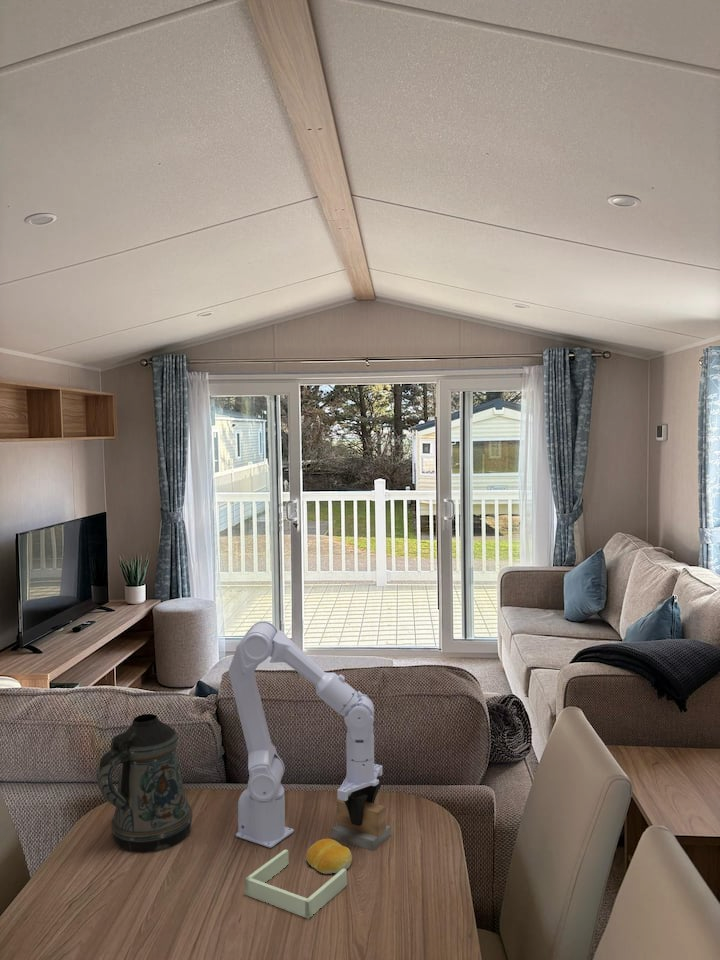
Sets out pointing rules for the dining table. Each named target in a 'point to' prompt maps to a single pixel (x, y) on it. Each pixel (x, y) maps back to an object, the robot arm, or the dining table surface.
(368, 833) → the scraper
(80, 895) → the dining table surface
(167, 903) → the dining table surface
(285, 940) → the dining table surface
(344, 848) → the bread roll
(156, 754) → the beer stein
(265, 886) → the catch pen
